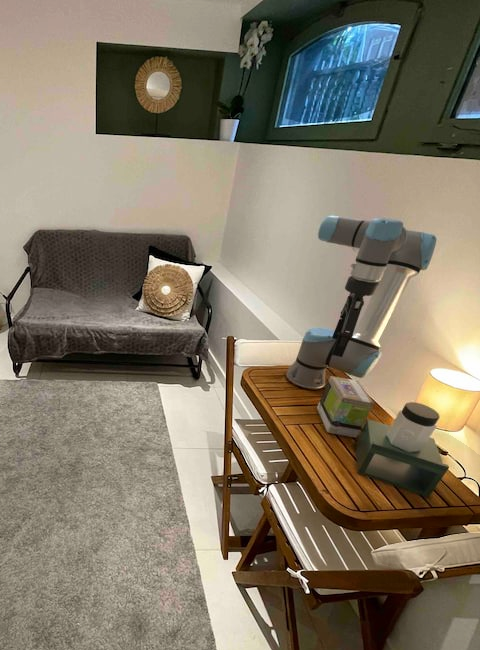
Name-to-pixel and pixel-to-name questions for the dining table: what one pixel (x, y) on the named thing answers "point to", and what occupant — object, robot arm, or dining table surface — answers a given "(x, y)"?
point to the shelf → (398, 461)
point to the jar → (413, 427)
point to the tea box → (344, 406)
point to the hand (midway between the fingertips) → (336, 346)
